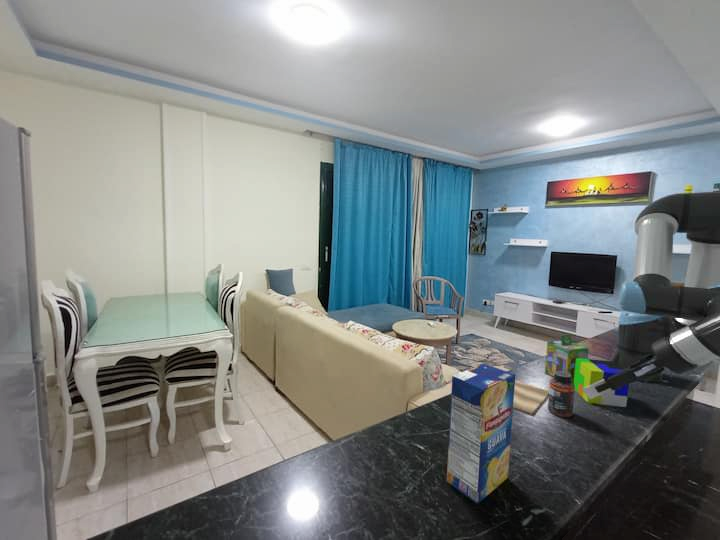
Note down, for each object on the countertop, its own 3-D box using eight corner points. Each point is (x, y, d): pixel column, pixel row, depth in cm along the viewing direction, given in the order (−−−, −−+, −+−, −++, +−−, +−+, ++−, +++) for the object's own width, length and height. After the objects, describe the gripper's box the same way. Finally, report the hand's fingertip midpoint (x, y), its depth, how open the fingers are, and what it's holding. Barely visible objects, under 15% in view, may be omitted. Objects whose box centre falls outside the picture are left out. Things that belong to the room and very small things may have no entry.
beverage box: (446, 481, 66) (452, 376, 63) (477, 459, 72) (484, 363, 70) (477, 504, 60) (484, 390, 58) (507, 477, 67) (515, 374, 64)
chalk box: (566, 384, 110) (571, 341, 108) (543, 372, 118) (547, 332, 116) (586, 380, 113) (591, 338, 111) (562, 369, 121) (566, 330, 119)
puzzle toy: (626, 407, 96) (630, 374, 94) (587, 403, 98) (591, 370, 96) (607, 391, 105) (611, 361, 104) (573, 387, 107) (576, 358, 106)
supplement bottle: (569, 409, 94) (572, 371, 93) (575, 420, 88) (579, 379, 87) (545, 405, 96) (548, 367, 94) (549, 415, 90) (553, 376, 89)
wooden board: (510, 380, 111) (511, 379, 111) (550, 393, 103) (550, 391, 103) (488, 399, 98) (488, 397, 98) (531, 415, 90) (531, 413, 90)
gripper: (692, 374, 65) (588, 415, 80) (705, 359, 72) (607, 400, 88) (660, 340, 68) (566, 386, 84) (675, 330, 76) (586, 374, 91)
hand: (587, 393), depth 86 cm, fingers closed
